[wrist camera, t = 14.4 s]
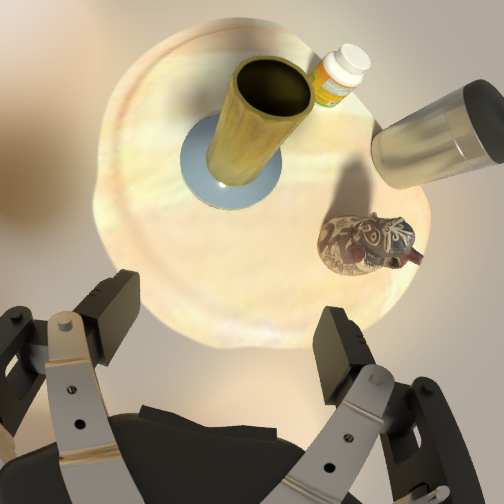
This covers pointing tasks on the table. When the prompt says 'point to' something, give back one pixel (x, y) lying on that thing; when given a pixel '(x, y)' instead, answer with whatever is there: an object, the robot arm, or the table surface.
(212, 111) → the table surface
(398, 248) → the figurine
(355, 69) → the supplement bottle
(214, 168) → the vase
